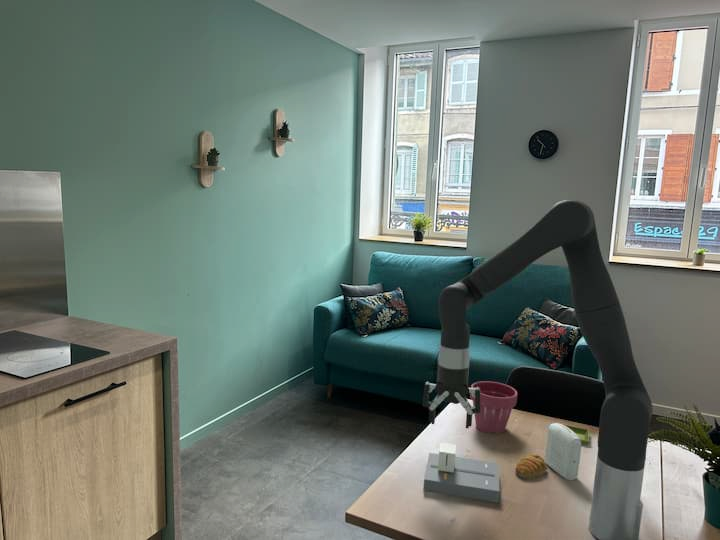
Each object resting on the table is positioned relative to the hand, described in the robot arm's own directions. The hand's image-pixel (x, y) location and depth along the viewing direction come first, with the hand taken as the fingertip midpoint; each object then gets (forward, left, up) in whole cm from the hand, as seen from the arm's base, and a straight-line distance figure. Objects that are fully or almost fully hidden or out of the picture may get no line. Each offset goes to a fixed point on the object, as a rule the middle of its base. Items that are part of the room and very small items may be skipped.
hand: (450, 425), depth 135 cm
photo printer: (-30, -14, -15) cm, 36 cm away
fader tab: (0, 0, -11) cm, 11 cm away
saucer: (-37, -37, -15) cm, 54 cm away
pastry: (-22, -11, -15) cm, 29 cm away
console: (-4, 0, -15) cm, 15 cm away
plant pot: (-12, -36, -15) cm, 41 cm away
